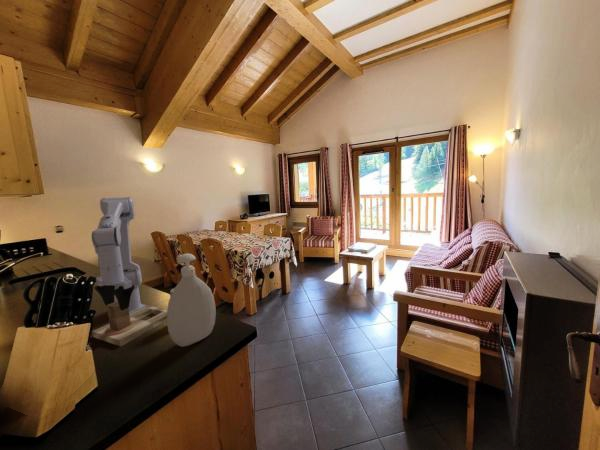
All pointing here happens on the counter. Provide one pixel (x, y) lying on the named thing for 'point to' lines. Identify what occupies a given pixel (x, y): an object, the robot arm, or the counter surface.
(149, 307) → the holder board
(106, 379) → the counter surface
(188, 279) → the soap bottle
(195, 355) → the counter surface
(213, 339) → the counter surface
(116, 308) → the walnut block
